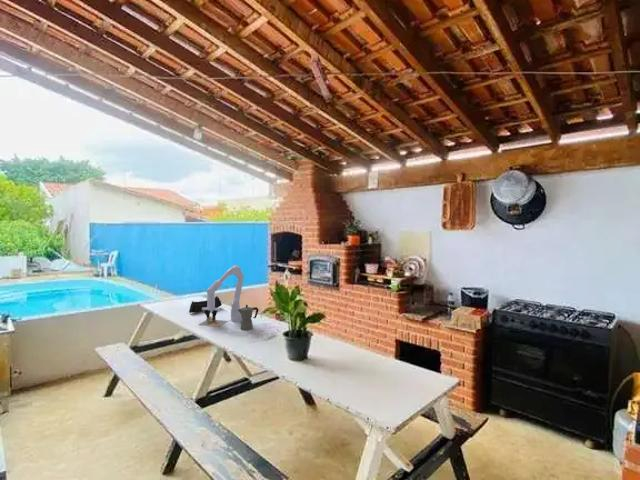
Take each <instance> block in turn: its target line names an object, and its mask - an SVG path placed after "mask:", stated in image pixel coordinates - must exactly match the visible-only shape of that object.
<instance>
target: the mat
mask: <svg viewBox="0 0 640 480" xmlns="http://www.w3.org/2000/svg"><path fill="white" fill-rule="evenodd" d="M228 322H229V320H219V319H216V320H215V321H213V322H212V323H209V322H207V319H206V320H204V321H202V322H201V323H198V326H200V327H201V326H202V327H204V326H205V327H215V328H217V327H218V328H219V327H221V326H223V325H225V324H226V323H228Z"/></svg>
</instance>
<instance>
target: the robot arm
mask: <svg viewBox="0 0 640 480" xmlns="http://www.w3.org/2000/svg"><path fill="white" fill-rule="evenodd" d="M243 273H244V272H243V271H242V269H241V267H240V266H238V265H237V264H235V265H232V267H230V268H229V269H227V270H226V272H225V273H224V274H223V275H222V276H221V277H220V278H219V279H218V280H217V279H216V280H214V281H213V283H212V284H211V285H210V286H209V287H208V288H207V290H206V296H207V297H206V300H207V307H206V308H204V307H203V308H202V310H205V311H204V314H205V316H206V319H207V318H209V317H210V315H211V316H213V320H215V317H216V316H217V314H218V312H221V308H219V307H218V308H215V297H216V296H215V293H216V292H217V291H218V290H219V289H220V288H221V286H223V283H224V281H226V280H227V278H229V277H230V276H233V275H234V276H236V278H237V280H236V281H237V282H236V285H235V286H236V287H235V292H234V296H233V299H232V301H231V306H230V307H231V308H230V319H229V320H228V322H237V323H241V322H242V317H241V314H240V312H239V311H238V309H241V308H240V306H241V305H240V301H241V300H240V299H241V294H242V290H243V284H244V278H245V277H244V276H245V275H244V274H243Z"/></svg>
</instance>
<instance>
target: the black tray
mask: <svg viewBox="0 0 640 480" xmlns="http://www.w3.org/2000/svg"><path fill="white" fill-rule="evenodd" d="M214 297H215V308H219V307H221V306H222V301H221V299H220V298H219V296H218V295H216V296H214ZM203 307H204V308H206V307H207V299H206V300H201V301H200V300H199V301H194V300H193V301H192V300H191V303H190V306H189V310H188V313H191V314H193V313H195V314H196V313H203V312H204V311H205V310H202V308H203Z"/></svg>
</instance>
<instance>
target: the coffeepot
mask: <svg viewBox="0 0 640 480" xmlns="http://www.w3.org/2000/svg"><path fill="white" fill-rule="evenodd" d="M238 311H239V312H240V314H241V317H242V321H241V322H240V323H241V324H240V328H239V329H240V330H241V331H250V330H253V328H254V326H253V320H252V319H256V318H257V316H258V313H259V308H258V307H257V306H256V307H252V306H251V307H250V306H248V304H245V307H241V308H240V309H238ZM253 311H255V314H254V316H253Z"/></svg>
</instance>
